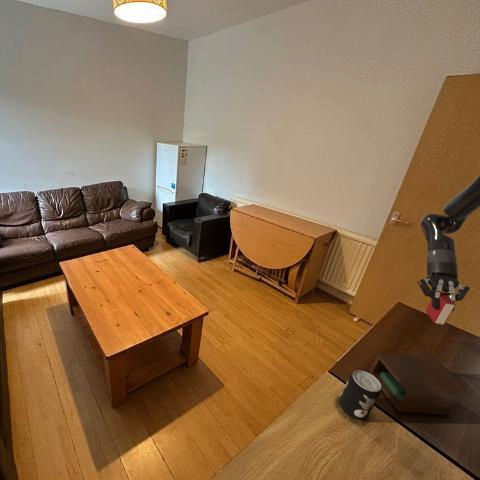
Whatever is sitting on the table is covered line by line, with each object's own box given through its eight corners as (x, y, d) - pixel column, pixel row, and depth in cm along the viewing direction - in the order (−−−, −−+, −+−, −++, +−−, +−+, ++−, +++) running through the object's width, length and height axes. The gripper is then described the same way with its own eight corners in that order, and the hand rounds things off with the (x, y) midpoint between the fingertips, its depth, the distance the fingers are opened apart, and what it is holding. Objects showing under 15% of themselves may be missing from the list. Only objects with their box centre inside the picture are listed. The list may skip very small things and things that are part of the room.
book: (434, 312, 95) (445, 292, 91) (443, 325, 89) (456, 305, 85) (425, 310, 96) (435, 291, 92) (434, 323, 90) (445, 303, 86)
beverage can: (342, 417, 68) (356, 388, 62) (334, 394, 73) (347, 366, 68) (371, 425, 66) (388, 396, 61) (361, 401, 71) (376, 372, 66)
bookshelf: (409, 374, 79) (425, 348, 74) (446, 414, 68) (467, 388, 63) (368, 372, 79) (381, 346, 75) (398, 411, 69) (415, 385, 64)
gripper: (423, 257, 93) (423, 304, 88) (475, 264, 88) (479, 315, 83) (411, 263, 100) (411, 306, 95) (459, 270, 94) (462, 317, 89)
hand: (443, 310), depth 89 cm, fingers closed on book, 2 cm apart
